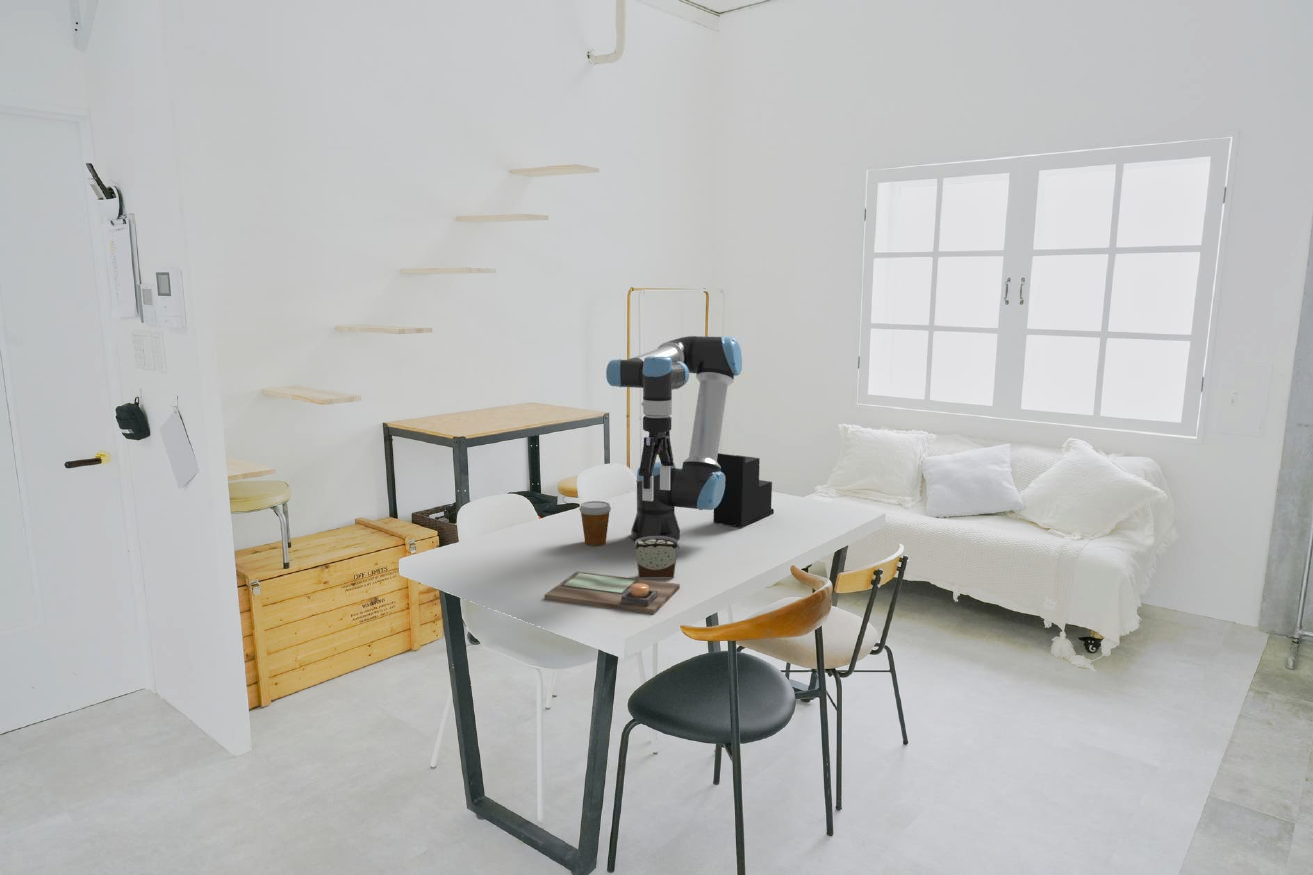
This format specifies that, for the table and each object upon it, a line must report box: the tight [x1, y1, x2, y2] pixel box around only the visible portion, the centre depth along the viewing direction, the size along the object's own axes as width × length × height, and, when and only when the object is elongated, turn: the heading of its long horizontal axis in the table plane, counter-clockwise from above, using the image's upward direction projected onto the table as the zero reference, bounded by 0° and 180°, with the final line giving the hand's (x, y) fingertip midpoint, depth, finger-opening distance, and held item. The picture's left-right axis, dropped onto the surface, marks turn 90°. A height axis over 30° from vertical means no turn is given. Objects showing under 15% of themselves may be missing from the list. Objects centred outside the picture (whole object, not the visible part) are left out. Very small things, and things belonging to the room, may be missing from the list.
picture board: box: [544, 570, 681, 615], centre depth 221 cm, size 19×29×3 cm, turn 70°
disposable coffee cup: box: [578, 500, 612, 547], centre depth 263 cm, size 10×10×12 cm
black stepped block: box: [712, 452, 775, 528], centre depth 291 cm, size 23×11×24 cm, turn 146°
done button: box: [631, 583, 649, 597], centre depth 213 cm, size 4×4×2 cm
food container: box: [633, 536, 680, 579], centre depth 235 cm, size 12×6×10 cm, turn 92°
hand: (656, 495), depth 232 cm, fingers open, 13 cm apart
